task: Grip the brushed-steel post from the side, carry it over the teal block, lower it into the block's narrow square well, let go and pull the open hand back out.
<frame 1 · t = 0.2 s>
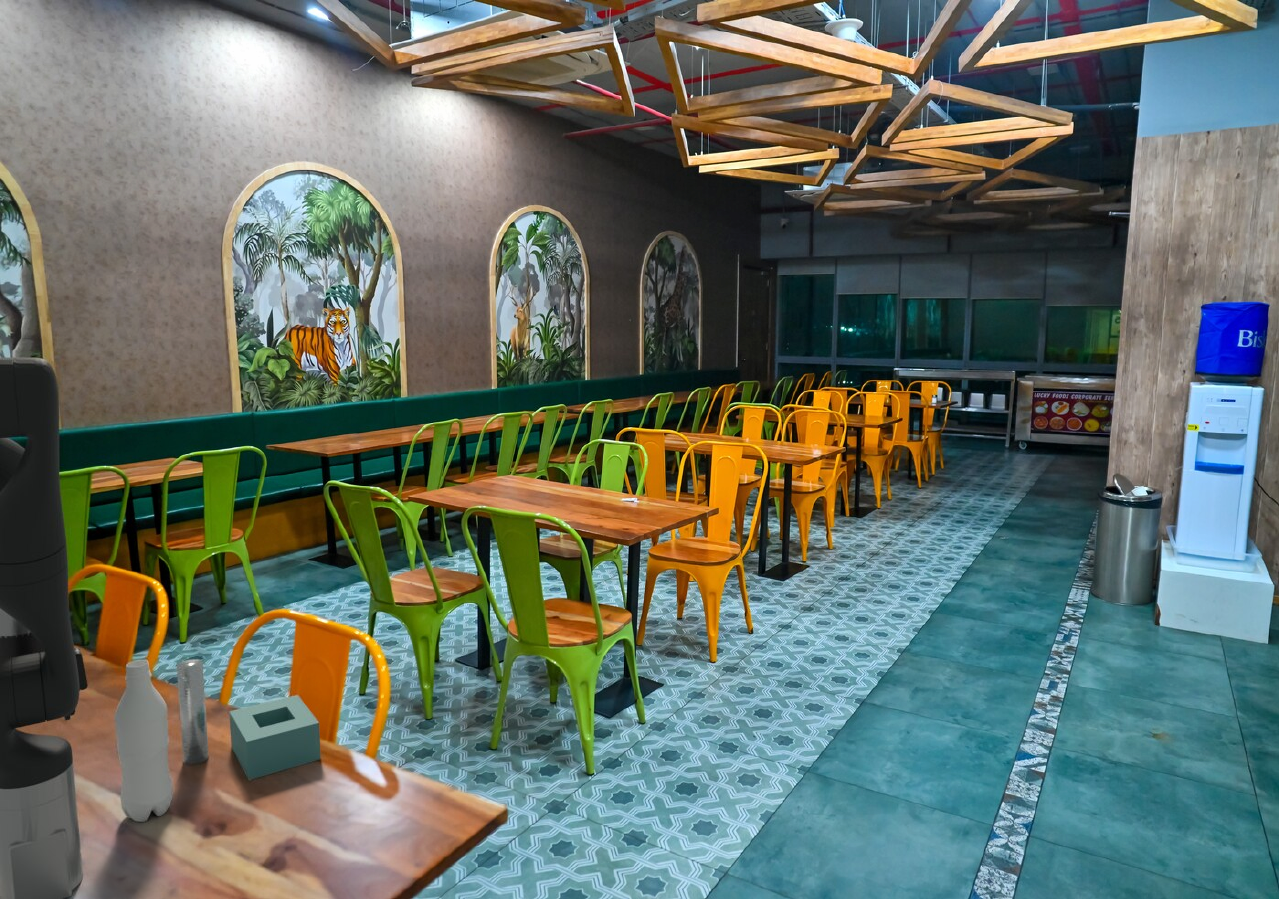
hand: (32, 726, 122), 18 cm above the table, tool pointing down, fingers open, 8 cm apart
water bottle: (148, 813, 132), on the table
well block: (275, 753, 150), on the table
steel post: (196, 759, 148), on the table
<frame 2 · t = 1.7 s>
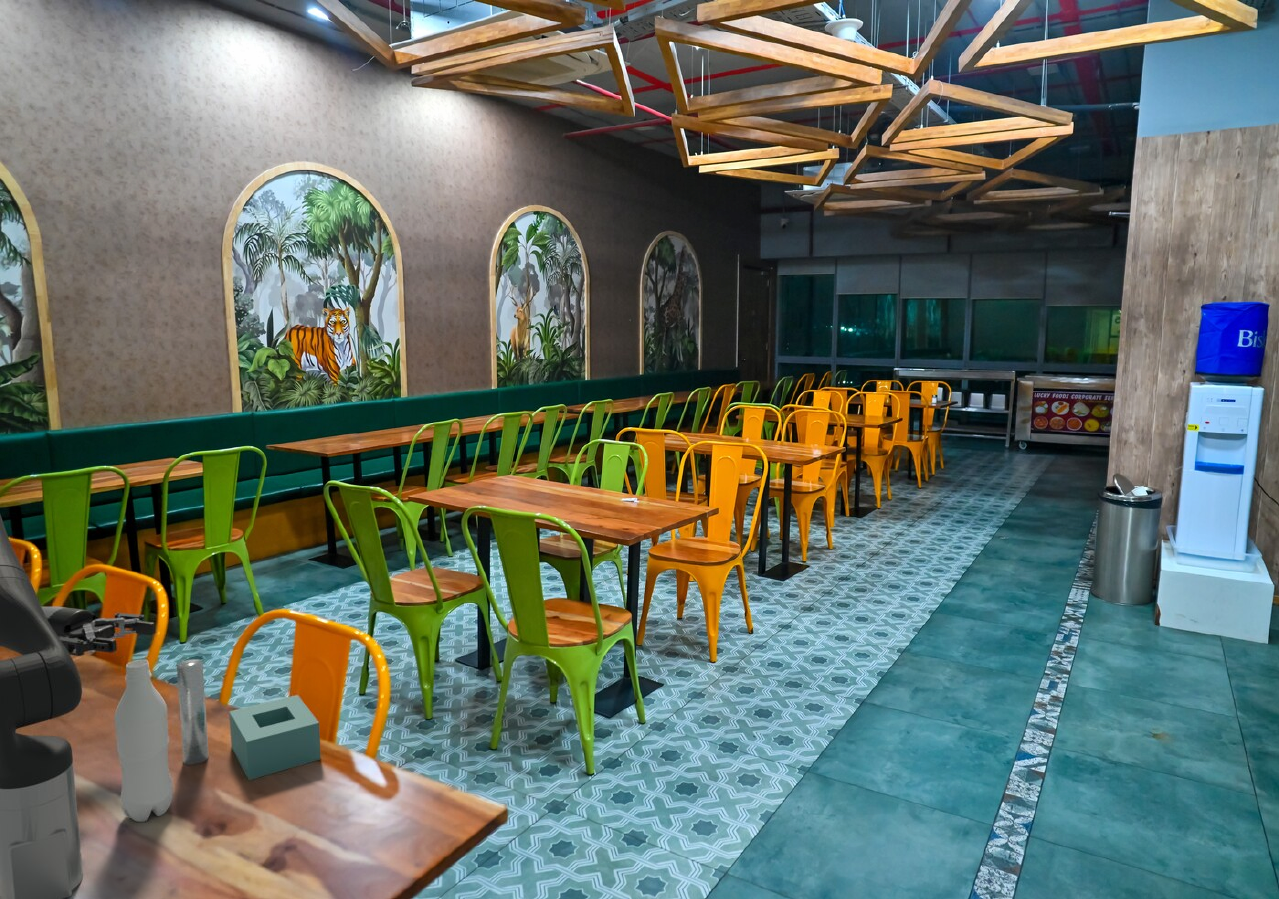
hand: (135, 637, 147), 22 cm above the table, tool horizontal, fingers open, 8 cm apart
nothing on the table moved.
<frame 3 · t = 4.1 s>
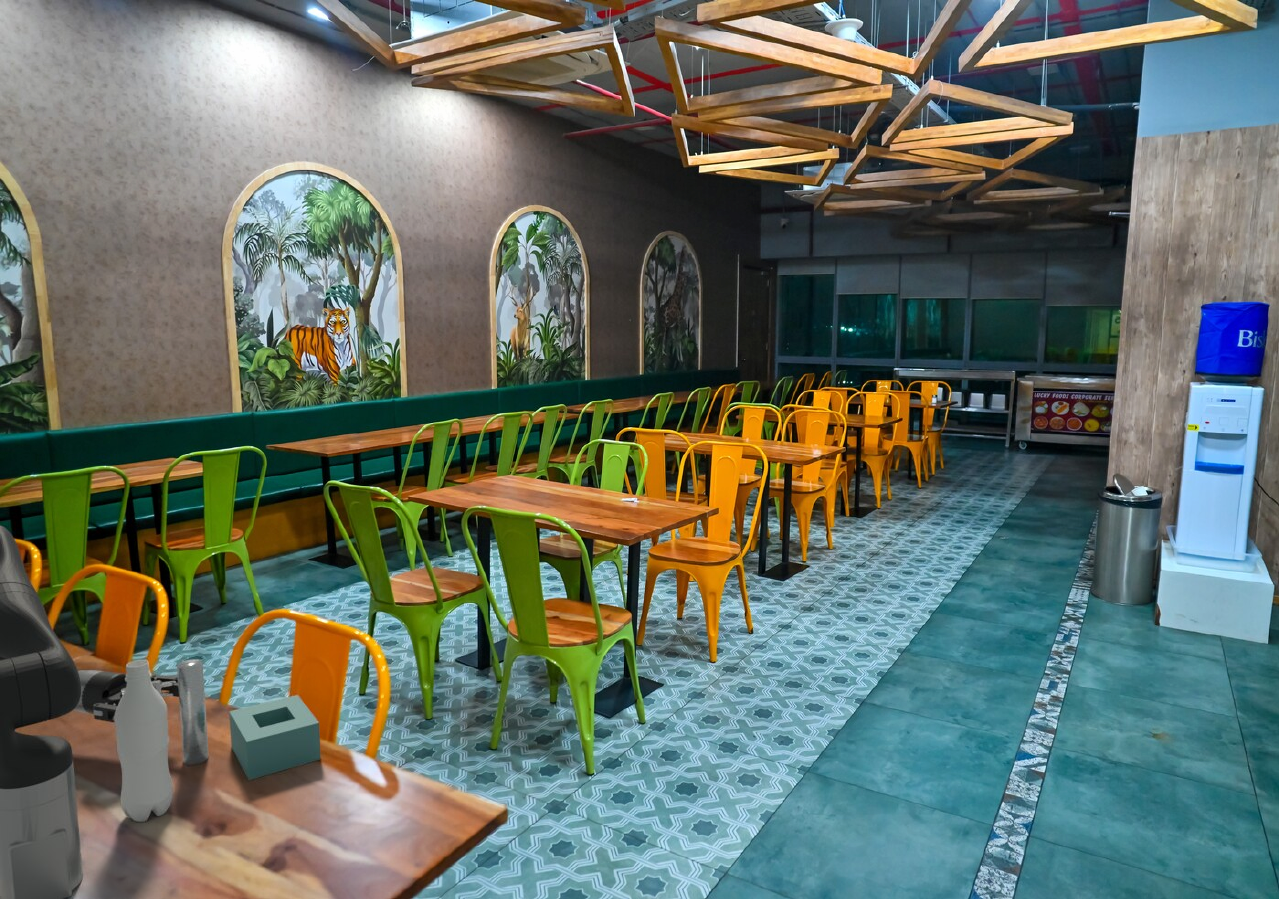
hand: (173, 701, 147), 10 cm above the table, tool horizontal, fingers open, 8 cm apart
nothing on the table moved.
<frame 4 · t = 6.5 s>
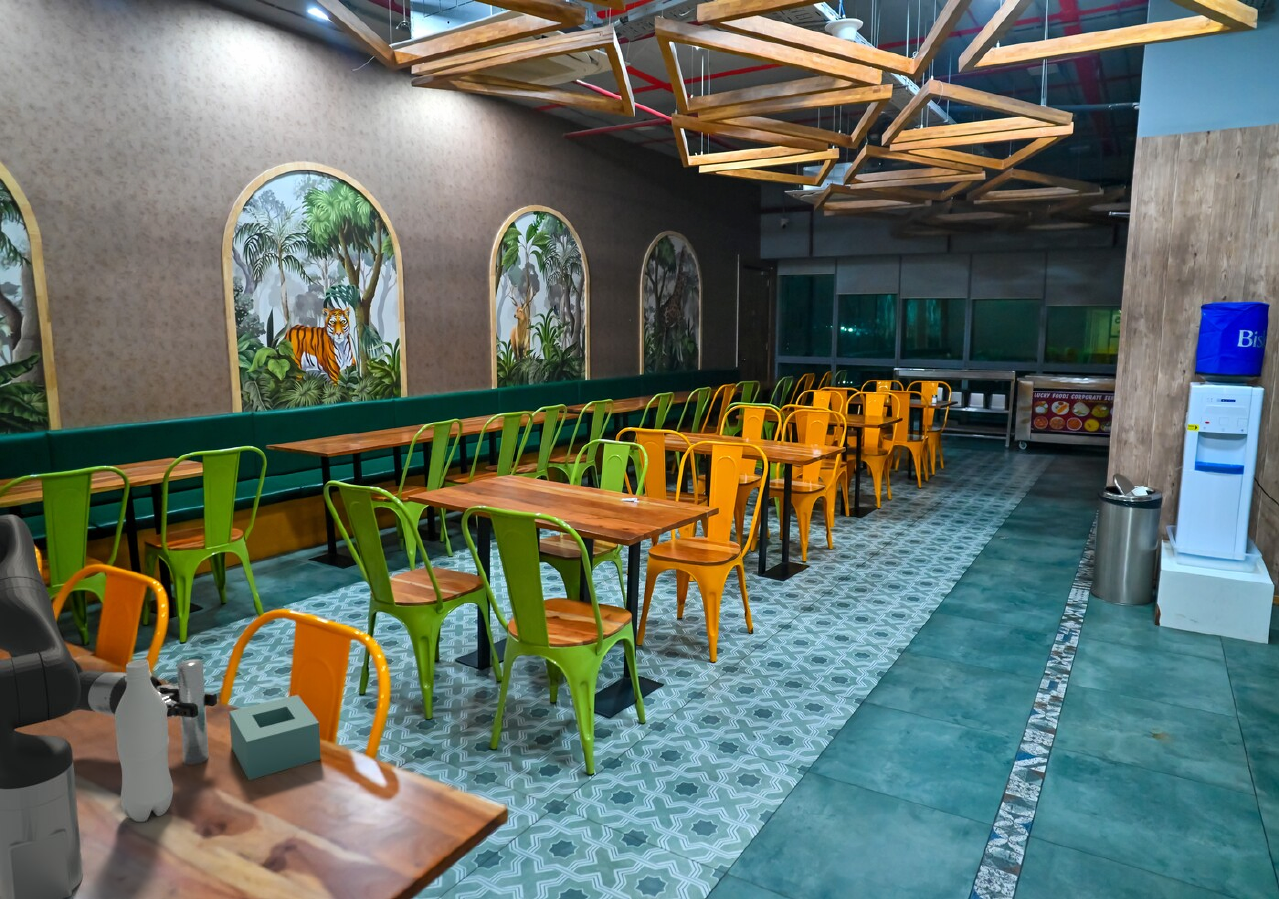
hand: (205, 705, 146), 11 cm above the table, tool horizontal, fingers closed on steel post, 4 cm apart
steel post: (196, 759, 148), on the table, touching gripper
everything else where it was.
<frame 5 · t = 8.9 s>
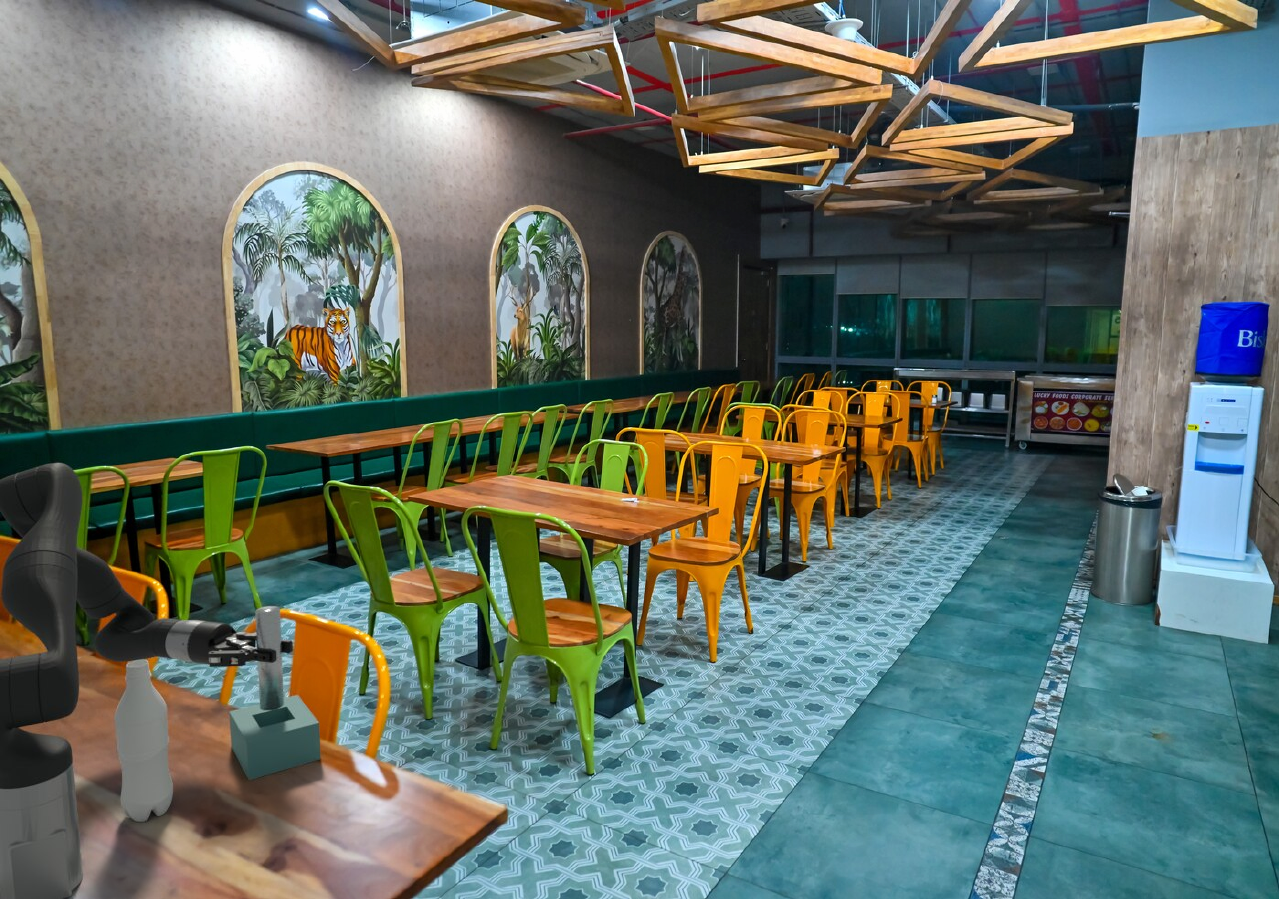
hand: (283, 651, 147), 20 cm above the table, tool horizontal, fingers closed on steel post, 4 cm apart
steel post: (272, 705, 149), point 9 cm above the table, touching gripper
everything else where it was.
when the fingers open (12 cm above the table, at t = 11.3 s): steel post drops 1 cm, resting on well block.
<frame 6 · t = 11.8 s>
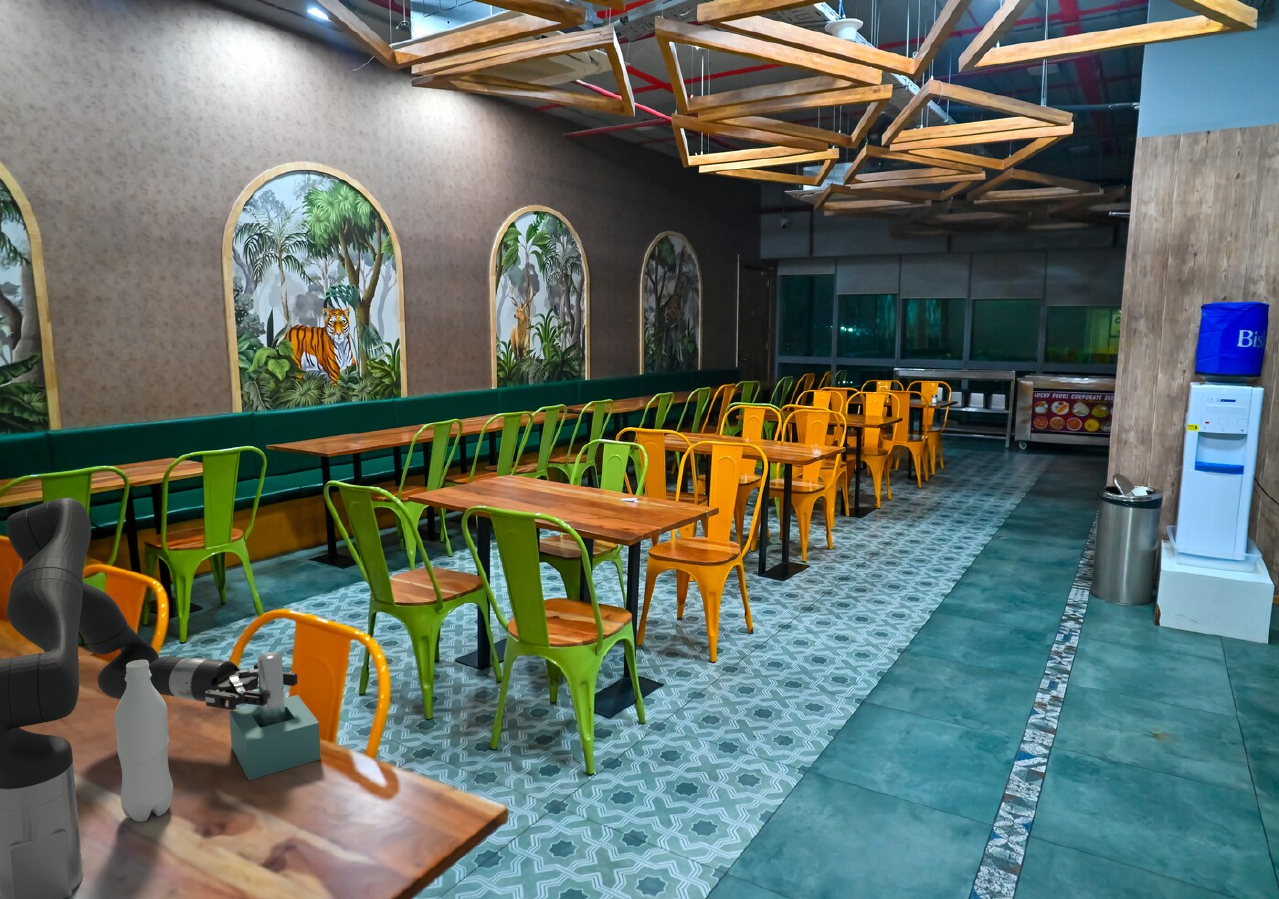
hand: (281, 689, 148), 12 cm above the table, tool horizontal, fingers open, 8 cm apart
steel post: (274, 750, 150), point 1 cm above the table, touching well block
everything else where it was.
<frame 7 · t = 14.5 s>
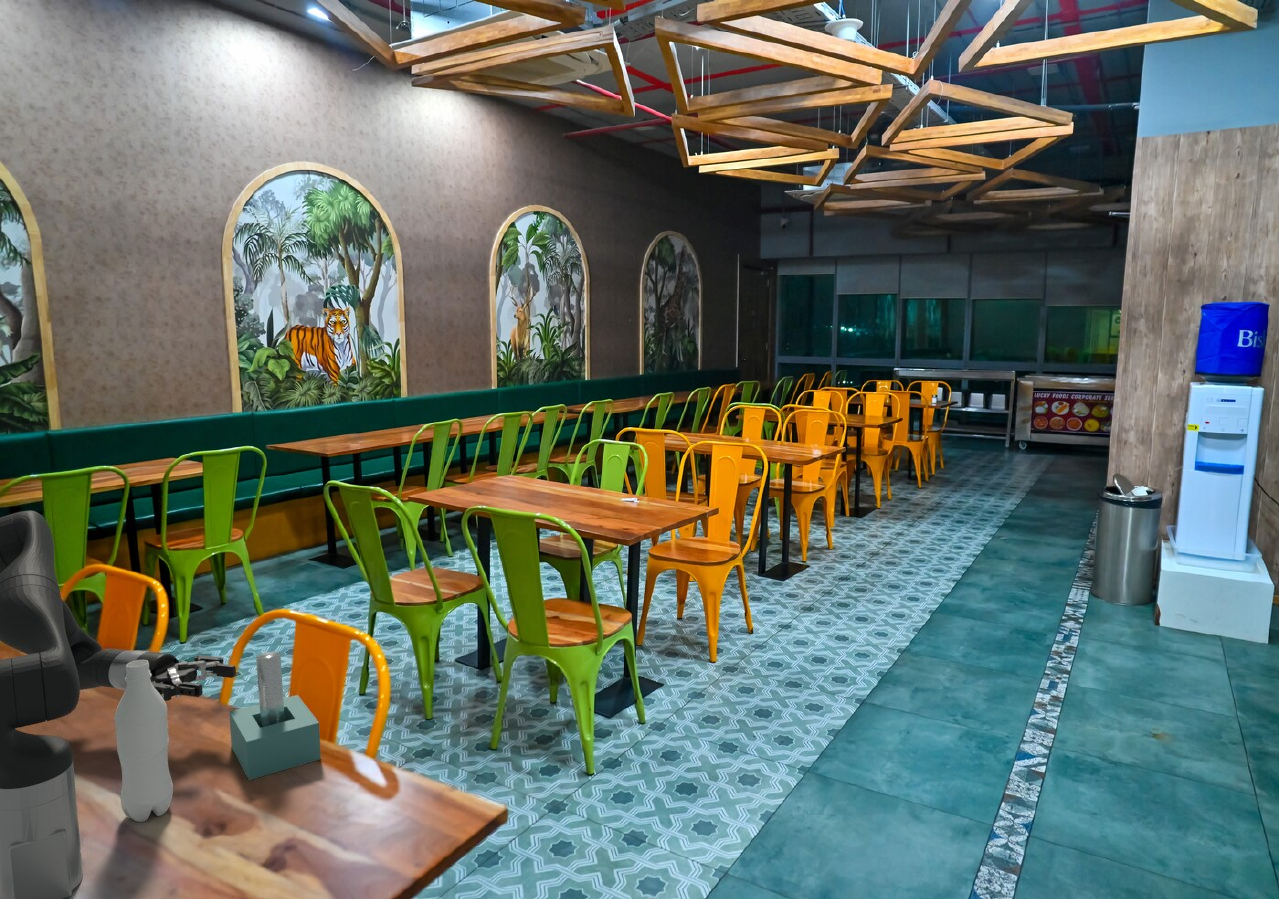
hand: (218, 681, 151), 13 cm above the table, tool horizontal, fingers open, 8 cm apart
nothing on the table moved.
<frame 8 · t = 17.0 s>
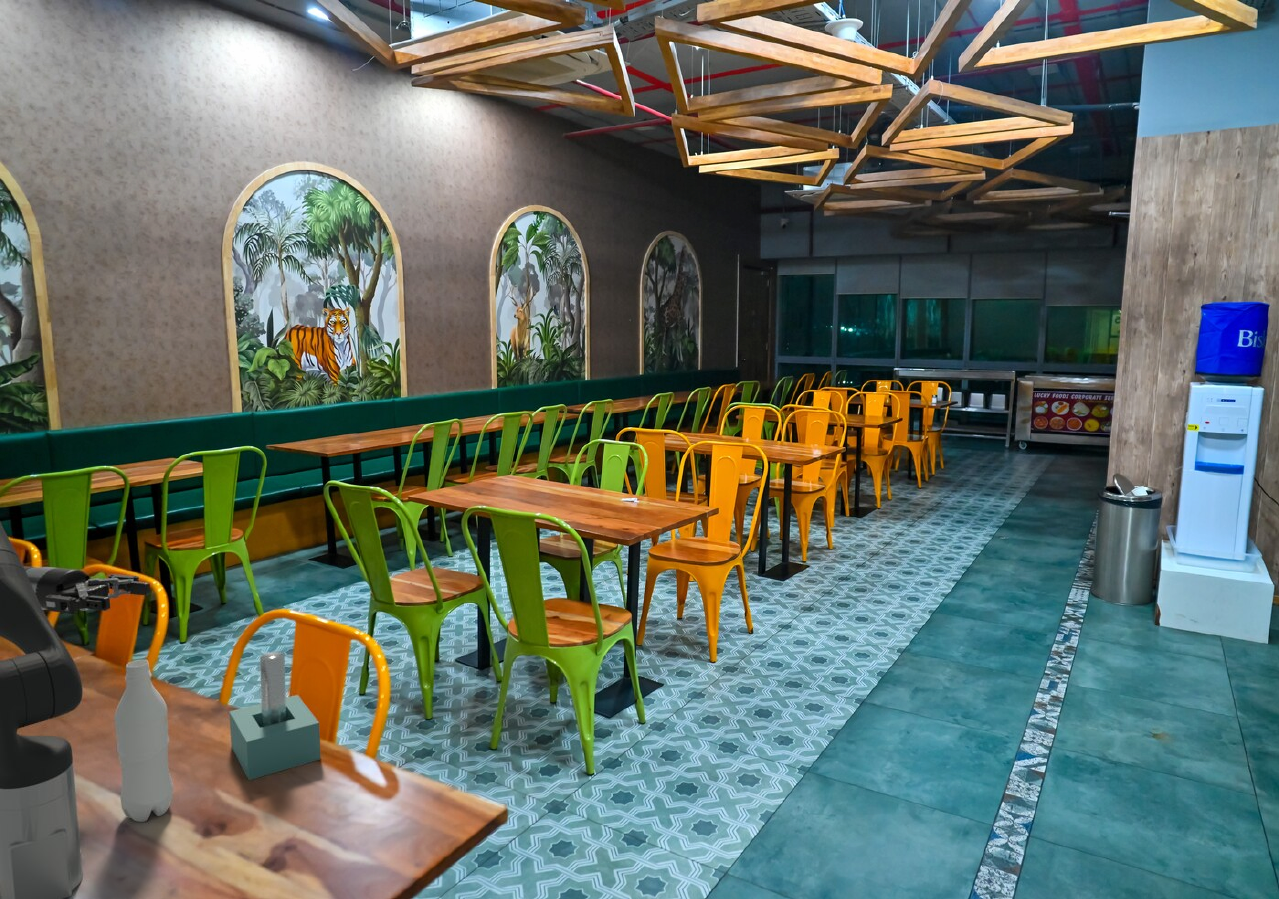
hand: (129, 596, 144), 30 cm above the table, tool horizontal, fingers open, 8 cm apart
nothing on the table moved.
at the end: steel post 0.1 cm off-centre on the well block, point 0.6 cm above the well block's base; steel post tilted 2°; the gripper is holding nothing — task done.
